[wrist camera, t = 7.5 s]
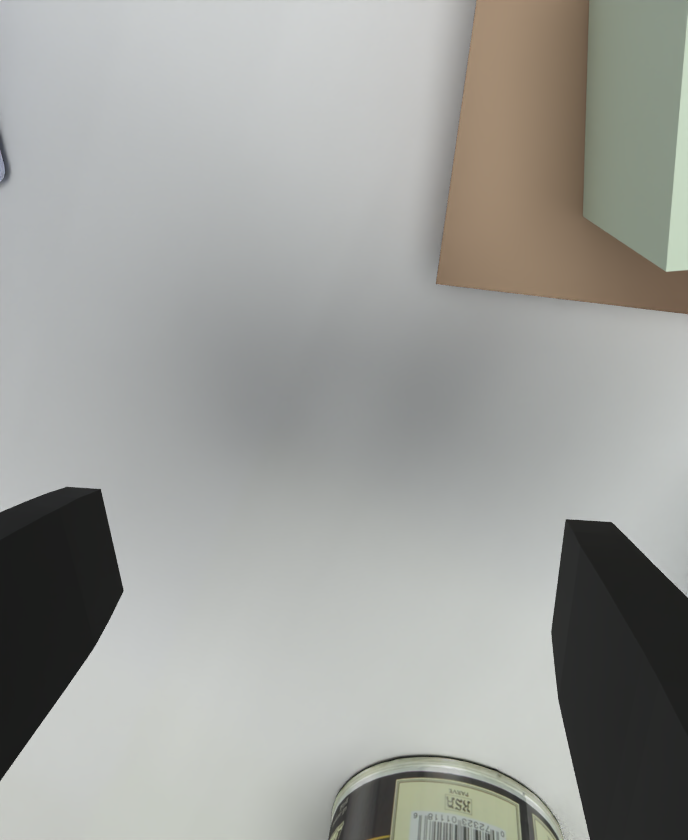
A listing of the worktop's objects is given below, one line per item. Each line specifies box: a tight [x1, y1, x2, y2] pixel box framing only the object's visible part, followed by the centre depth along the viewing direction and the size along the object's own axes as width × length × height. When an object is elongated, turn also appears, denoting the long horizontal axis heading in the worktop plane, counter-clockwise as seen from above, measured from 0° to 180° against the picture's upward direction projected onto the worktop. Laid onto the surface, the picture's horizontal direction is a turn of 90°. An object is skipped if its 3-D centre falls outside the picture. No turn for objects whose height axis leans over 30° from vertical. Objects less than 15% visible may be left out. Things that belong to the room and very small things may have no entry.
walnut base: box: [436, 0, 688, 314], centre depth 14 cm, size 9×9×4 cm
